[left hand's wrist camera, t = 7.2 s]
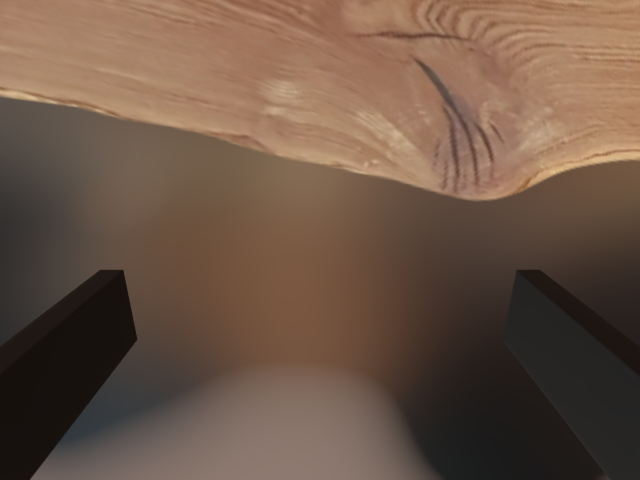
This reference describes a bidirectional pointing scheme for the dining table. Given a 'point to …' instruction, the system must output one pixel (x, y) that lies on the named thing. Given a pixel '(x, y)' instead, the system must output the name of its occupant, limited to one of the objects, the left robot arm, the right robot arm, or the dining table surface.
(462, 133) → the dining table surface
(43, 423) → the left robot arm
